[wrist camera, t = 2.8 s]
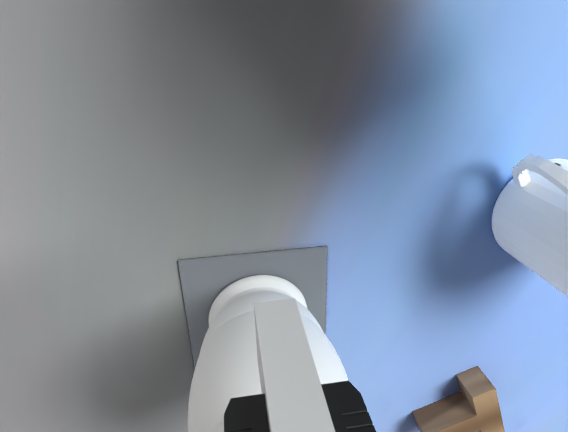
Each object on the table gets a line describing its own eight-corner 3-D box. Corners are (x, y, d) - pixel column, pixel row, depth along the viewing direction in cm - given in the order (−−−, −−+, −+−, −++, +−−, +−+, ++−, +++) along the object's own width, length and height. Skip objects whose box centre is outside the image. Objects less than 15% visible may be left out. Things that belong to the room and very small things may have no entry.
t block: (406, 394, 41) (419, 419, 39) (477, 365, 41) (495, 388, 39) (422, 439, 45) (435, 465, 42) (488, 413, 45) (505, 437, 42)
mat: (178, 259, 31) (177, 261, 31) (326, 245, 33) (327, 246, 33) (211, 473, 42) (210, 475, 42) (322, 455, 43) (322, 457, 43)
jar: (264, 237, 31) (297, 388, 18) (341, 311, 35) (416, 479, 22) (169, 318, 33) (134, 511, 20) (253, 379, 37) (272, 574, 24)
